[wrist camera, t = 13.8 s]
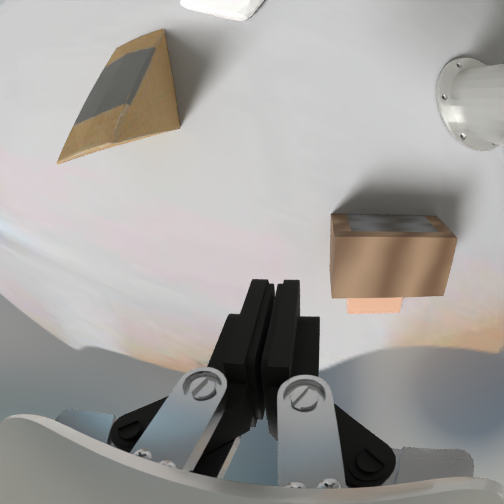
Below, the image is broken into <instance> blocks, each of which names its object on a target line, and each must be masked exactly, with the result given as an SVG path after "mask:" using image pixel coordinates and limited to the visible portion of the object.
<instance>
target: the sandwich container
mask: <svg viewBox="0 0 504 504" xmlns="http://www.w3.org/2000/svg"><path fill="white" fill-rule="evenodd" d="M176 129H180V122H179V115H178V108H177V101H176V94H175V87H174V82H173V76H172V71H171V65H170V60H169V54H168V48H167V43H166V37H165V31H164V29H160V30H157V31H154V32H152V33H149V34H146V35H143V36H141V37H138V38H136V39H134V40H132V41H130V42H128V43H126V44H124V45H122V46H120V47H118V48H116V50H115V52H114V53H113V55H112V56H111V58H110V60H109V61H108V63H107V65H106V66H105V68H104V70H103V71H102V73H101V75H100V76H99V78H98V80H97V82H96V83H95V85H94V87H93V89H92V90H91V92H90V94H89V96H88V98H87V100H86V102H85V104H84V106H83V108H82V110H81V112H80V114H79V115H78V117H77V119H76V121H75V124H74V126H73V128H72V130H71V132H70V134H69V136H68V138H67V140H66V143H65V145H64V147H63V150H62V152H61V154H60V156H59V159H58V161H57V164H61V163H64V162H67V161H70V160H72V159H75V158H78V157H81V156H84V155H87V154H91V153H94V152H97V151H100V150H104V149H107V148H110V147H114V146H117V145H121V144H125V143H128V142H132V141H135V140H139V139H142V138H146V137H149V136H153V135H157V134H160V133H164V132H168V131H172V130H176Z"/></svg>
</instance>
